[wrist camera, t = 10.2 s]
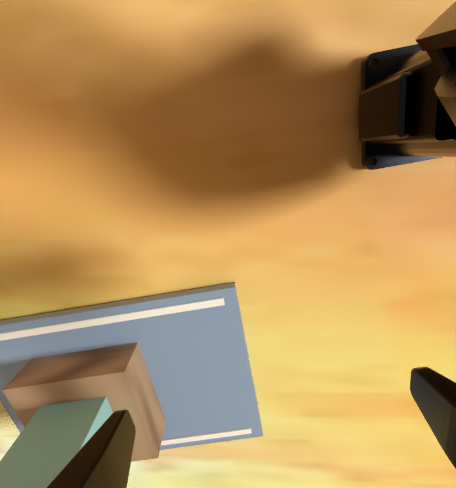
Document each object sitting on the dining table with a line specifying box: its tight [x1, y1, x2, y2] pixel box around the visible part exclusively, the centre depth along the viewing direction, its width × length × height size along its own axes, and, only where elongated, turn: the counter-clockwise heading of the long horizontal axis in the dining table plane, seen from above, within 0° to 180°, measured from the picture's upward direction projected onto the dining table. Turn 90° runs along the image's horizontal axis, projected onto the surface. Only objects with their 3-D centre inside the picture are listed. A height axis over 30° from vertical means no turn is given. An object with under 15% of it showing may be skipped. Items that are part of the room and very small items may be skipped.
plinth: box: [2, 342, 166, 461], centre depth 21 cm, size 9×9×3 cm
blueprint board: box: [0, 282, 263, 450], centre depth 23 cm, size 22×16×1 cm
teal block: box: [0, 397, 113, 488], centre depth 17 cm, size 5×5×6 cm
